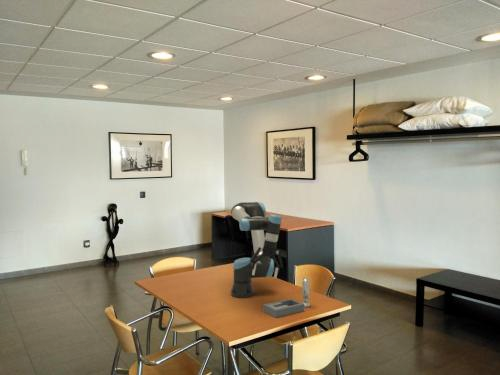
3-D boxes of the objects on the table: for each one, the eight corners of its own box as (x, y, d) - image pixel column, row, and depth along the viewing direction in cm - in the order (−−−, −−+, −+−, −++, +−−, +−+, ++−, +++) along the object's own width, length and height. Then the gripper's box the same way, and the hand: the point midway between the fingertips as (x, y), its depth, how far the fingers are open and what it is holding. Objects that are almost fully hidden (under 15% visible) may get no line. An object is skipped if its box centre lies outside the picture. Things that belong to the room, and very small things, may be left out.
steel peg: (301, 304, 240) (301, 278, 239) (310, 304, 239) (310, 278, 239) (301, 307, 235) (301, 280, 234) (310, 307, 234) (310, 280, 234)
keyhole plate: (291, 305, 239) (291, 298, 239) (304, 310, 229) (304, 304, 228) (263, 311, 228) (263, 304, 228) (275, 317, 218) (275, 310, 218)
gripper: (252, 237, 229) (245, 274, 227) (292, 245, 234) (286, 281, 233) (249, 236, 236) (242, 272, 234) (288, 243, 241) (282, 278, 240)
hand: (264, 276), depth 234 cm, fingers open, 13 cm apart
